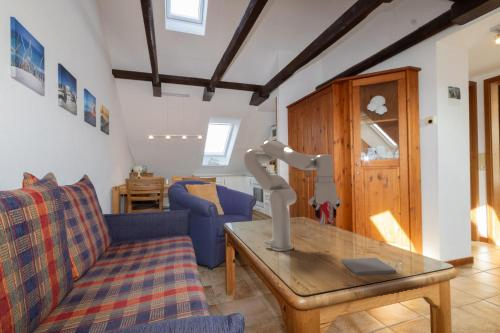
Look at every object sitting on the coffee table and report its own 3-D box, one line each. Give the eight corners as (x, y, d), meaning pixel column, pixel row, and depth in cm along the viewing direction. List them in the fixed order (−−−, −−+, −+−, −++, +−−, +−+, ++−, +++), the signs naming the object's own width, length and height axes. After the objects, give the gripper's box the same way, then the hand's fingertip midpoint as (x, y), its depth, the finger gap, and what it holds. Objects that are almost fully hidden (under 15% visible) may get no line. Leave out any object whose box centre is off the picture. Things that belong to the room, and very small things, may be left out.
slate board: (356, 274, 95) (356, 271, 95) (341, 261, 109) (341, 259, 109) (396, 273, 96) (396, 270, 96) (376, 260, 110) (376, 257, 110)
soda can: (325, 226, 111) (325, 200, 111) (315, 223, 117) (314, 199, 117) (337, 224, 114) (336, 199, 114) (325, 222, 120) (325, 198, 121)
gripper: (309, 181, 112) (310, 219, 112) (346, 180, 113) (347, 218, 112) (304, 180, 119) (305, 216, 119) (339, 179, 120) (340, 215, 120)
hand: (325, 217), depth 116 cm, fingers closed on soda can, 7 cm apart
